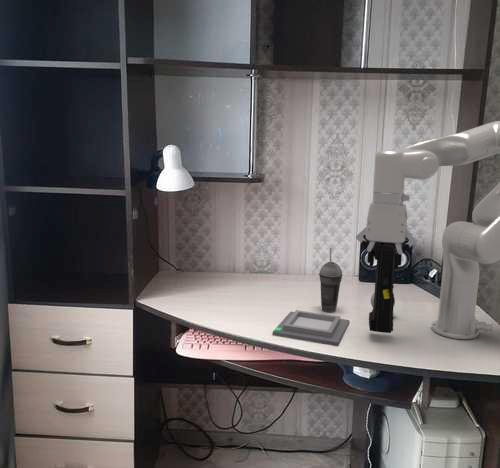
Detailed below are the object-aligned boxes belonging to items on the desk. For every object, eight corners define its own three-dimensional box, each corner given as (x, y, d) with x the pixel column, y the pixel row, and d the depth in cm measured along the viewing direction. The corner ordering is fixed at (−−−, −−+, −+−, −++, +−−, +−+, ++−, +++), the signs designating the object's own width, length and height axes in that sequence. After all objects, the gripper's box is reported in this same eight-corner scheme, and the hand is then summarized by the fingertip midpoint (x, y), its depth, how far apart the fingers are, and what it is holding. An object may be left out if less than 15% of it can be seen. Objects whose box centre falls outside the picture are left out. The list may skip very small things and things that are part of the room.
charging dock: (349, 323, 146) (349, 315, 145) (337, 346, 129) (338, 337, 129) (290, 314, 152) (290, 306, 151) (272, 335, 135) (272, 326, 135)
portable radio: (393, 335, 130) (401, 242, 125) (370, 333, 131) (376, 241, 126) (390, 324, 137) (397, 236, 132) (368, 322, 138) (374, 235, 133)
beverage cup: (322, 314, 152) (326, 251, 149) (313, 307, 159) (316, 246, 155) (344, 313, 154) (348, 250, 151) (334, 305, 161) (337, 245, 157)
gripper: (423, 199, 128) (418, 266, 131) (356, 195, 134) (353, 260, 137) (422, 202, 121) (417, 273, 124) (352, 199, 127) (348, 267, 130)
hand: (383, 266), depth 131 cm, fingers closed on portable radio, 5 cm apart
